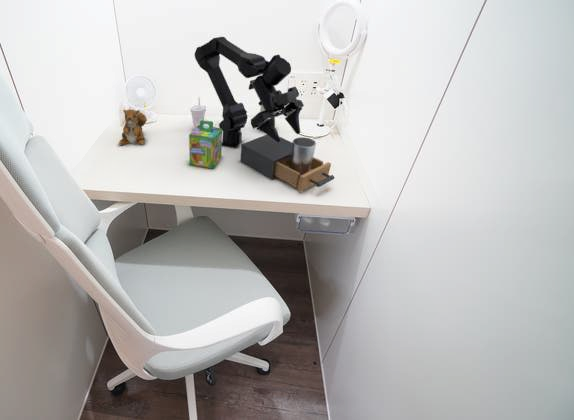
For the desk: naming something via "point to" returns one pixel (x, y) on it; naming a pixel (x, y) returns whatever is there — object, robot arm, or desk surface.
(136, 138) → the stuffed squirrel
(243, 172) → the desk surface
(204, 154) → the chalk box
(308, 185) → the drawer
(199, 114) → the smoothie
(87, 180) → the desk surface
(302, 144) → the steel cup
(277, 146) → the organizer
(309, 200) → the desk surface
